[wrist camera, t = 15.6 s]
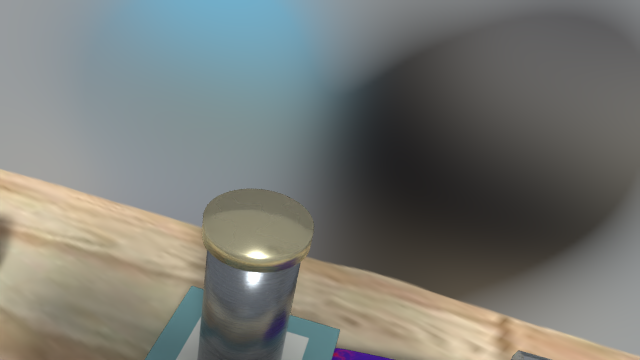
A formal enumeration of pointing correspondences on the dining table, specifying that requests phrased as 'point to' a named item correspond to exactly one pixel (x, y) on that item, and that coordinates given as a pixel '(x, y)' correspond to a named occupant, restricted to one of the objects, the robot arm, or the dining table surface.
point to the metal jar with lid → (250, 273)
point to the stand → (184, 330)
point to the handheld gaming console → (354, 355)
